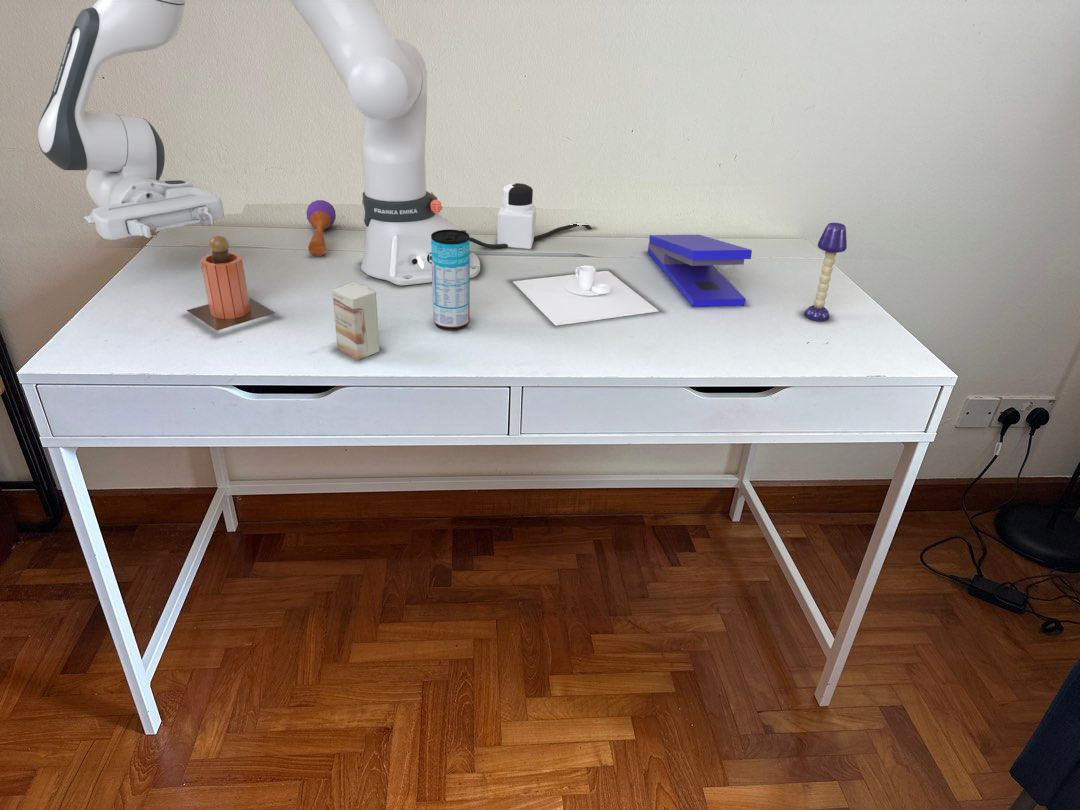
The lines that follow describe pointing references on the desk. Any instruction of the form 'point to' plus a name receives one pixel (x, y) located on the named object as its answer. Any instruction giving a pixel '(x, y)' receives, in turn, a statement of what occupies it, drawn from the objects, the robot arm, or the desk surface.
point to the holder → (220, 255)
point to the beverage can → (451, 278)
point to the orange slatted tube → (226, 287)
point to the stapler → (698, 267)
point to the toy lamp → (827, 268)
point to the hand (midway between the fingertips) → (181, 226)
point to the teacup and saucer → (583, 296)
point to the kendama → (319, 224)
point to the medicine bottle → (517, 217)
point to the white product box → (356, 320)
